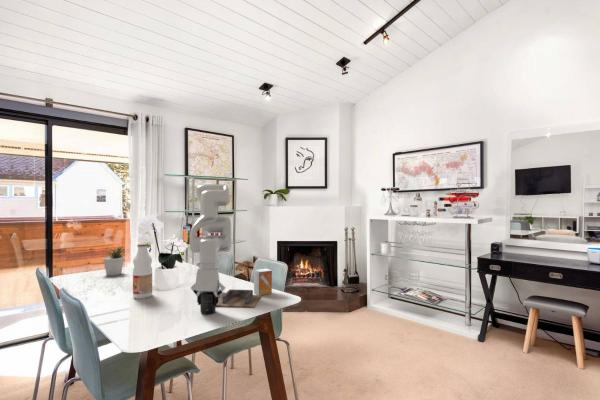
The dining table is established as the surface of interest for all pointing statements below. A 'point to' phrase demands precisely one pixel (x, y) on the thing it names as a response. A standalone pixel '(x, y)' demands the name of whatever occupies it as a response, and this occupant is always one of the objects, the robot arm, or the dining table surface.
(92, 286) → the dining table surface
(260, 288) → the small box
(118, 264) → the potted plant
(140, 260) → the fruit juice
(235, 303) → the dock
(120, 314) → the dining table surface
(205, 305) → the supplement bottle
